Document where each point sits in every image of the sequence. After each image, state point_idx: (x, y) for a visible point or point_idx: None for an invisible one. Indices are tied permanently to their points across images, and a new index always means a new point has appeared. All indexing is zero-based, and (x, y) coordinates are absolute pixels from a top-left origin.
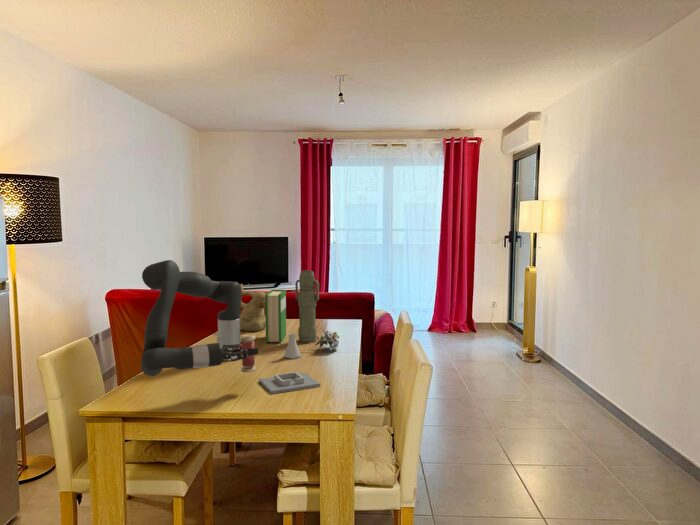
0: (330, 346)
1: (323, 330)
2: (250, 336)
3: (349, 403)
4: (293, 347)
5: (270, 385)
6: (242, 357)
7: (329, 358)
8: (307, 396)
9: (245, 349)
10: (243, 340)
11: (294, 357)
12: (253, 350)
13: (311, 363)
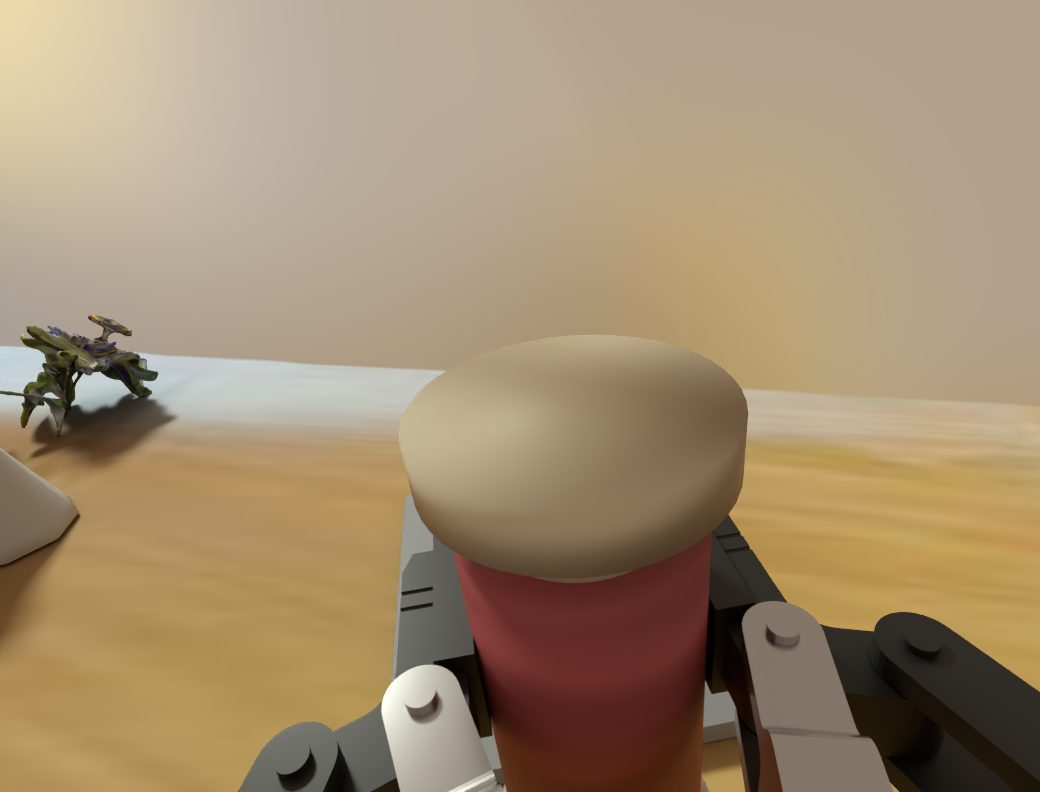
0: (147, 377)
1: (35, 330)
2: (598, 374)
3: (915, 402)
4: (13, 476)
5: None
6: (987, 787)
7: (222, 416)
8: (823, 525)
9: (801, 631)
10: (719, 516)
11: (63, 522)
12: (745, 541)
13: (231, 472)
